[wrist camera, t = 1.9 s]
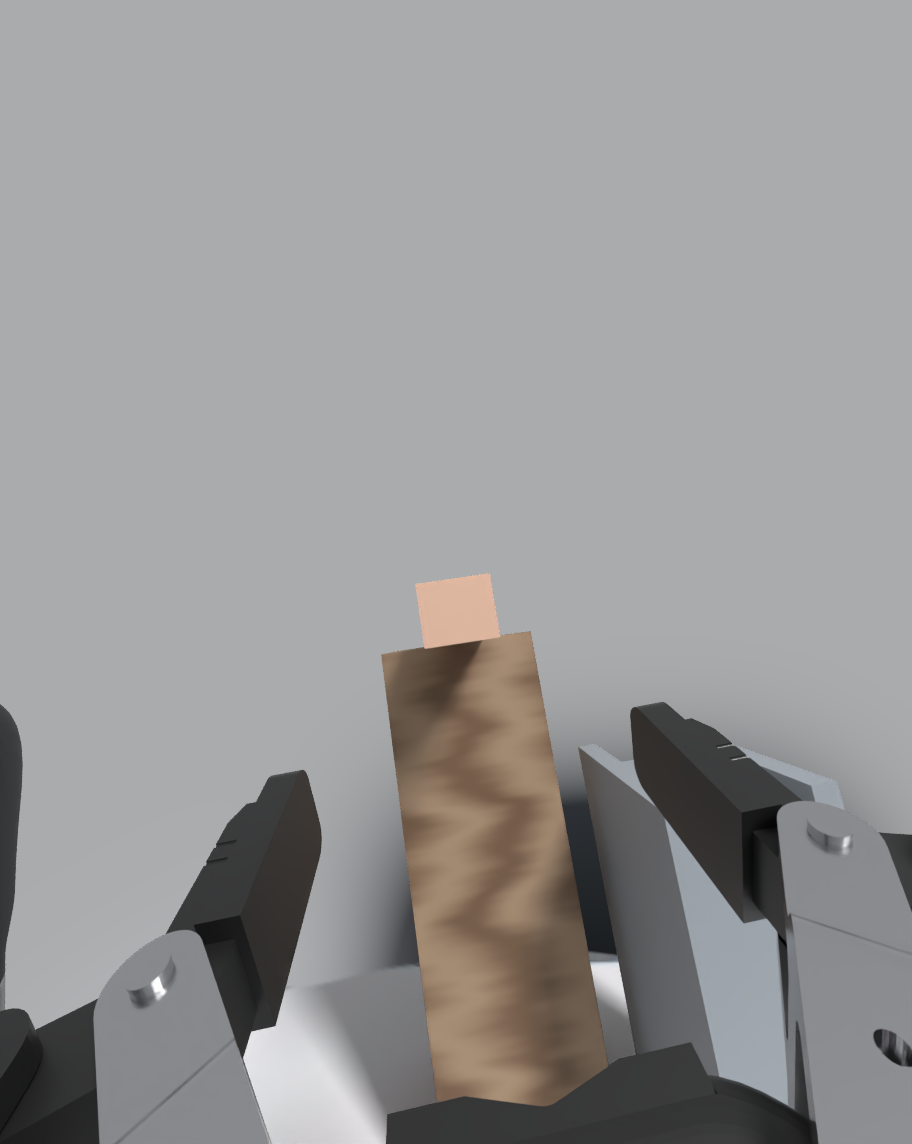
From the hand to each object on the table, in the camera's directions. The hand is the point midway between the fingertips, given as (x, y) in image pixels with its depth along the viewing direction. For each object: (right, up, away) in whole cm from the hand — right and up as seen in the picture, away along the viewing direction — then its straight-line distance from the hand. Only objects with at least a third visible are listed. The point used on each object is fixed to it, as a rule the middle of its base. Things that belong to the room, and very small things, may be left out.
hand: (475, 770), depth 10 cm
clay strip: (-1, 0, +21) cm, 21 cm away
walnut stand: (+4, -32, +19) cm, 38 cm away
